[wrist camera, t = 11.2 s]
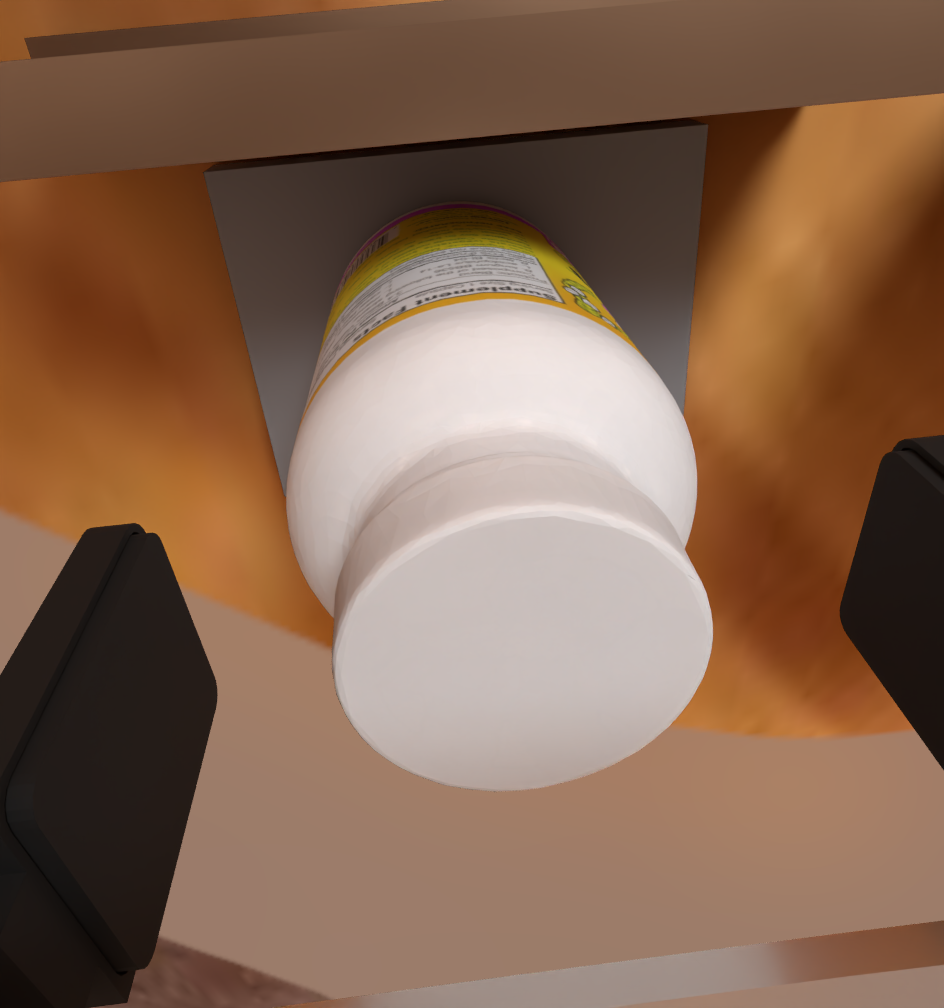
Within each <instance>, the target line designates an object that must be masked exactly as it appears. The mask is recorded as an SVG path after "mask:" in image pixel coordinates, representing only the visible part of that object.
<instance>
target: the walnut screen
mask: <svg viewBox="0 0 944 1008" xmlns="http://www.w3.org/2000/svg"><path fill="white" fill-rule="evenodd" d="M24 39H25V42H26V45H27V48H28V50H29V53H30V56H31V59H25V60H14V61H3V62H0V182H6V181H16V180H27V179H38V178H48V177H59V176H70V175H80V174H91V173H101V172H112V171H123V170H133V169H144V168H154V167H165V166H176V165H186V164H197V163H207V162H218V161H229V160H239V159H250V158H260V157H271V156H282V155H292V154H303V153H314V152H324V151H335V150H345V149H356V148H367V147H377V146H388V145H398V144H409V143H420V142H430V141H441V140H451V139H462V138H473V137H483V136H494V135H505V134H515V133H526V132H536V131H547V130H558V129H568V128H579V127H589V126H600V125H611V124H621V123H632V122H642V121H653V120H664V119H674V118H685V117H696V116H706V115H717V114H727V113H738V112H749V111H759V110H770V109H780V108H791V107H802V106H812V105H823V104H833V103H844V102H855V101H865V100H876V99H887V98H897V97H908V96H918V95H929V94H940V93H944V0H444V1H433V2H422V3H410V4H399V5H388V6H377V7H366V8H355V9H343V10H332V11H321V12H310V13H299V14H287V15H276V16H265V17H254V18H243V19H232V20H220V21H209V22H198V23H187V24H176V25H165V26H153V27H142V28H131V29H120V30H109V31H97V32H86V33H75V34H64V35H53V36H42V37H30V38H24Z"/></svg>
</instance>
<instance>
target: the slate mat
mask: <svg viewBox="0 0 944 1008" xmlns="http://www.w3.org/2000/svg"><path fill="white" fill-rule="evenodd" d="M707 134H708V124H705V123H701V122H698V121H694V120H684V121H674V122H663V123H653V124H642V125H631V126H621V127H610V128H600V129H589V130H578V131H568V132H557V133H547V134H536V135H525V136H515V137H504V138H494V139H483V140H472V141H462V142H451V143H441V144H430V145H419V146H409V147H398V148H388V149H377V150H366V151H356V152H345V153H335V154H324V155H313V156H303V157H292V158H282V159H271V160H260V161H250V162H239V163H229V164H218V165H213V166H212V167H210V168H209V169H207V170H206V171H205V172H203V173H204V177H205V181H206V185H207V189H208V193H209V197H210V201H211V205H212V209H213V213H214V217H215V221H216V225H217V229H218V233H219V237H220V241H221V245H222V249H223V253H224V257H225V261H226V265H227V269H228V273H229V277H230V281H231V285H232V289H233V293H234V297H235V301H236V305H237V309H238V313H239V317H240V321H241V325H242V329H243V333H244V337H245V341H246V345H247V349H248V353H249V357H250V360H251V364H252V368H253V372H254V376H255V380H256V384H257V388H258V392H259V396H260V400H261V404H262V408H263V412H264V416H265V420H266V424H267V428H268V432H269V436H270V440H271V444H272V448H273V452H274V456H275V460H276V464H277V468H278V472H279V476H280V480H281V484H282V488H283V492H284V496H285V497H286V490H287V477H288V471H289V466H290V460H291V456H292V452H293V449H294V445H295V441H296V437H297V433H298V430H299V426H300V422H301V419H302V416H303V412H304V409H305V406H306V402H307V399H308V395H309V391H310V387H311V383H312V380H313V375H314V372H315V369H316V365H317V361H318V357H319V353H320V349H321V345H322V341H323V336H324V333H325V330H326V326H327V322H328V318H329V314H330V311H331V307H332V304H333V300H334V297H335V294H336V291H337V288H338V286H339V284H340V282H341V279H342V277H343V275H344V272H345V270H346V269H347V267H348V265H349V263H350V262H351V260H352V259H353V257H354V256H355V255H356V253H357V252H358V251H359V250H360V248H361V247H362V246H363V245H364V244H365V242H366V241H367V240H368V239H369V238H370V237H372V236H373V235H374V234H375V233H376V232H377V231H378V230H380V229H381V228H382V227H383V226H385V225H386V224H388V223H389V222H391V221H393V220H394V219H396V218H397V217H399V216H402V215H404V214H406V213H408V212H410V211H413V210H415V209H418V208H421V207H425V206H429V205H433V204H439V203H444V202H454V201H467V202H477V203H484V204H489V205H493V206H496V207H500V208H503V209H505V210H508V211H510V212H512V213H515V214H517V215H519V216H521V217H522V218H524V219H526V220H527V221H529V222H530V223H532V224H533V225H535V226H536V227H538V228H539V229H540V230H541V231H543V232H544V233H545V234H546V235H547V236H548V237H549V238H550V239H551V240H552V241H553V242H554V243H555V244H556V245H557V246H558V247H559V248H560V249H561V251H562V252H563V253H564V254H565V256H566V257H567V258H568V259H569V261H570V262H571V263H572V264H573V266H574V267H575V269H576V270H577V271H578V272H579V274H580V275H581V276H582V277H583V279H584V280H585V281H586V283H587V284H588V285H589V287H590V288H591V289H592V290H593V292H594V293H595V294H596V295H597V297H598V298H599V299H600V300H601V302H602V304H603V305H604V306H605V308H606V309H607V310H608V311H609V313H610V314H611V315H612V316H613V318H614V319H615V320H616V322H617V323H618V324H619V326H620V327H621V328H622V330H623V331H624V332H625V333H626V335H627V336H628V337H629V338H630V340H631V341H632V342H633V344H634V345H635V346H636V347H637V349H638V350H639V351H640V353H641V354H642V355H643V356H644V358H645V359H646V360H647V361H648V363H649V364H650V365H651V366H652V368H653V369H654V370H655V371H656V373H657V374H658V375H659V376H660V378H661V380H662V381H663V383H664V384H665V386H666V387H667V389H668V390H669V392H670V393H671V395H672V396H673V398H674V399H675V401H676V403H677V405H678V407H679V409H680V411H681V413H682V415H683V413H684V402H685V390H686V379H687V367H688V355H689V344H690V332H691V320H692V309H693V297H694V285H695V274H696V262H697V251H698V239H699V227H700V216H701V204H702V192H703V181H704V169H705V157H706V146H707Z"/></svg>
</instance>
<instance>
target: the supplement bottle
mask: <svg viewBox="0 0 944 1008" xmlns="http://www.w3.org/2000/svg"><path fill="white" fill-rule="evenodd" d="M696 500H697V468H696V459H695V453H694V449H693V444H692V440H691V437H690V433H689V431H688V428H687V425H686V422H685V420H684V417H683V415H682V413H681V411H680V409H679V407H678V405H677V403H676V401H675V399H674V398H673V396H672V395H671V393H670V392H669V390H668V389H667V387H666V386H665V384H664V383H663V381H662V380H661V378H660V376H659V375H658V374H657V373H656V371H655V370H654V369H653V368H652V366H651V365H650V364H649V363H648V361H647V360H646V359H645V358H644V356H643V355H642V354H641V353H640V351H639V350H638V349H637V347H636V346H635V345H634V344H633V342H632V341H631V340H630V338H629V337H628V336H627V335H626V333H625V332H624V331H623V330H622V328H621V327H620V326H619V324H618V323H617V322H616V320H615V319H614V318H613V316H612V315H611V314H610V313H609V311H608V310H607V309H606V308H605V306H604V305H603V304H602V302H601V300H600V299H599V298H598V297H597V295H596V294H595V293H594V292H593V290H592V289H591V288H590V287H589V285H588V284H587V283H586V281H585V280H584V279H583V277H582V276H581V275H580V274H579V272H578V271H577V270H576V269H575V267H574V266H573V264H572V263H571V262H570V261H569V259H568V258H567V257H566V256H565V254H564V253H563V252H562V251H561V249H560V248H559V247H558V246H557V245H556V244H555V243H554V242H553V241H552V240H551V239H550V238H549V237H548V236H547V235H546V234H545V233H544V232H543V231H541V230H540V229H539V228H538V227H536V226H535V225H533V224H532V223H530V222H529V221H527V220H526V219H524V218H522V217H521V216H519V215H517V214H515V213H512V212H510V211H508V210H505V209H503V208H500V207H496V206H493V205H489V204H484V203H477V202H467V201H454V202H444V203H439V204H433V205H429V206H425V207H421V208H418V209H415V210H413V211H410V212H408V213H406V214H404V215H402V216H399V217H397V218H396V219H394V220H393V221H391V222H389V223H388V224H386V225H385V226H383V227H382V228H381V229H380V230H378V231H377V232H376V233H375V234H374V235H373V236H372V237H370V238H369V239H368V240H367V241H366V242H365V244H364V245H363V246H362V247H361V248H360V250H359V251H358V252H357V253H356V255H355V256H354V257H353V259H352V260H351V262H350V263H349V265H348V267H347V269H346V270H345V272H344V275H343V277H342V279H341V282H340V284H339V286H338V288H337V291H336V294H335V297H334V300H333V304H332V307H331V311H330V314H329V318H328V322H327V326H326V330H325V333H324V336H323V341H322V345H321V349H320V353H319V357H318V361H317V365H316V369H315V372H314V375H313V380H312V383H311V387H310V391H309V395H308V399H307V402H306V406H305V409H304V412H303V416H302V419H301V422H300V426H299V430H298V433H297V437H296V441H295V445H294V449H293V452H292V456H291V460H290V466H289V471H288V477H287V490H286V511H287V519H288V528H289V534H290V539H291V543H292V546H293V550H294V553H295V556H296V559H297V561H298V564H299V566H300V569H301V571H302V573H303V575H304V577H305V579H306V581H307V583H308V585H309V587H310V588H311V590H312V591H313V592H314V594H315V595H316V597H317V598H318V599H319V601H320V602H321V604H322V605H323V606H324V608H325V609H326V610H327V611H328V613H329V614H330V615H331V616H332V617H333V618H334V630H333V644H332V673H333V678H334V684H335V689H336V694H337V697H338V699H339V701H340V704H341V706H342V708H343V710H344V713H345V715H346V717H347V718H348V720H349V721H350V723H351V724H352V726H353V727H354V728H355V730H356V731H357V732H358V734H359V735H360V736H361V738H362V739H363V740H364V741H365V742H367V743H368V744H369V745H370V746H371V747H372V748H373V749H374V750H375V751H376V752H377V753H379V754H380V755H382V756H383V757H385V758H386V759H387V760H389V761H390V762H392V763H393V764H395V765H397V766H399V767H400V768H402V769H404V770H406V771H409V772H411V773H412V774H414V775H417V776H420V777H423V778H425V779H428V780H431V781H434V782H437V783H439V784H443V785H447V786H452V787H458V788H465V789H471V790H483V791H494V792H495V791H520V790H529V789H535V788H543V787H547V786H552V785H556V784H560V783H565V782H569V781H572V780H575V779H578V778H581V777H584V776H587V775H590V774H592V773H595V772H597V771H600V770H602V769H605V768H607V767H610V766H612V765H614V764H616V763H618V762H619V761H621V760H623V759H625V758H627V757H629V756H630V755H632V754H634V753H636V752H637V751H639V750H640V749H642V748H643V747H644V746H646V745H647V744H648V743H650V742H651V741H652V740H654V739H655V738H656V737H657V736H658V735H660V734H661V733H662V732H663V731H664V730H665V729H667V728H668V727H669V726H670V725H671V723H672V722H673V721H674V720H675V719H676V718H677V717H678V716H679V715H680V713H681V712H682V711H683V710H684V709H685V707H686V706H687V705H688V703H689V702H690V700H691V698H692V697H693V695H694V694H695V692H696V690H697V688H698V686H699V685H700V683H701V681H702V679H703V676H704V674H705V671H706V669H707V665H708V662H709V658H710V655H711V649H712V642H713V622H712V614H711V609H710V605H709V601H708V597H707V593H706V591H705V588H704V586H703V583H702V581H701V580H700V578H699V576H698V574H697V572H696V570H695V569H694V567H693V565H692V563H691V561H690V559H689V557H688V555H687V553H686V551H685V547H686V544H687V541H688V538H689V535H690V532H691V528H692V523H693V519H694V514H695V508H696Z"/></svg>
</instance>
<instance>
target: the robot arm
mask: <svg viewBox="0 0 944 1008" xmlns="http://www.w3.org/2000/svg"><path fill="white" fill-rule="evenodd" d="M840 618H841V623H842V626H843V628H844V630H845V632H846V634H847V635H848V637H849V638H850V640H851V641H852V642H853V644H854V645H855V647H856V648H857V649H858V651H859V652H860V654H861V655H862V656H863V658H864V659H865V661H866V662H867V663H868V665H869V666H870V668H871V669H872V670H873V672H874V673H875V675H876V676H877V677H878V679H879V680H880V682H881V683H882V684H883V686H884V687H885V689H886V690H887V691H888V693H889V694H890V696H891V697H892V698H893V700H894V701H895V703H896V704H897V705H898V707H899V708H900V710H901V711H902V712H903V714H904V715H905V717H906V718H907V719H908V721H909V722H910V724H911V725H912V726H913V728H914V729H915V731H916V732H917V733H918V735H919V736H920V738H921V739H922V740H923V742H924V743H925V745H926V746H927V747H928V749H929V750H930V751H931V753H932V754H933V756H934V757H935V759H936V760H937V761H938V762H939V764H940V766H941V767H942V768H943V770H944V435H940V436H930V437H921V438H912V439H904V440H902V441H900V442H898V444H897V445H896V446H895V447H894V449H893V451H892V452H889V453H887V454H885V456H884V457H883V458H882V460H881V463H880V466H879V469H878V473H877V476H876V480H875V483H874V487H873V491H872V494H871V498H870V501H869V505H868V508H867V512H866V516H865V519H864V523H863V526H862V530H861V533H860V537H859V541H858V544H857V548H856V551H855V555H854V558H853V562H852V566H851V569H850V573H849V576H848V580H847V583H846V587H845V591H844V594H843V598H842V601H841V605H840ZM216 704H217V685H216V680H215V677H214V674H213V671H212V669H211V666H210V664H209V661H208V659H207V656H206V654H205V651H204V649H203V646H202V644H201V641H200V638H199V636H198V633H197V631H196V628H195V626H194V623H193V620H192V618H191V615H190V613H189V610H188V608H187V605H186V603H185V600H184V597H183V595H182V592H181V590H180V587H179V585H178V582H177V580H176V577H175V575H174V572H173V569H172V567H171V564H170V562H169V559H168V557H167V554H166V552H165V549H164V546H163V544H162V542H161V540H160V538H159V536H158V535H157V534H155V533H145V531H144V529H143V528H142V527H141V526H140V525H139V524H136V523H132V524H122V525H113V526H104V527H95V528H90V529H87V530H86V531H85V532H84V534H83V535H82V537H81V538H80V540H79V542H78V543H77V545H76V547H75V549H74V550H73V552H72V554H71V555H70V557H69V559H68V561H67V562H66V564H65V566H64V567H63V569H62V571H61V573H60V574H59V576H58V578H57V579H56V581H55V583H54V584H53V586H52V588H51V590H50V591H49V593H48V595H47V596H46V598H45V600H44V601H43V604H42V605H41V607H40V608H39V610H38V612H37V613H36V615H35V617H34V619H33V620H32V622H31V624H30V626H29V627H28V629H27V631H26V632H25V634H24V636H23V637H22V639H21V641H20V642H19V644H18V646H17V648H16V649H15V651H14V653H13V654H12V656H11V658H10V660H9V661H8V663H7V665H6V666H5V668H4V670H3V672H2V673H1V675H0V1008H90V1007H98V1006H105V1005H113V1004H121V1003H127V1001H128V998H129V994H130V990H131V986H132V983H133V979H134V975H135V971H136V970H139V969H145V968H146V967H147V966H148V964H149V963H150V961H151V959H152V956H153V953H154V950H155V947H156V943H157V939H158V935H159V931H160V927H161V923H162V919H163V915H164V911H165V907H166V903H167V899H168V895H169V891H170V887H171V883H172V879H173V875H174V871H175V868H176V863H177V860H178V856H179V852H180V848H181V844H182V840H183V836H184V832H185V828H186V824H187V820H188V816H189V812H190V808H191V804H192V800H193V797H194V792H195V789H196V784H197V780H198V777H199V773H200V769H201V765H202V761H203V757H204V753H205V749H206V745H207V741H208V737H209V733H210V729H211V726H212V722H213V717H214V714H215V710H216ZM275 1008H944V921H937V922H929V923H920V924H912V925H904V926H895V927H887V928H879V929H871V930H863V931H855V932H847V933H839V934H832V935H824V936H816V937H808V938H801V939H792V940H784V941H777V942H769V943H762V944H753V945H746V946H738V947H730V948H722V949H715V950H706V951H699V952H692V953H683V954H675V955H667V956H660V957H652V958H644V959H637V960H629V961H621V962H614V963H606V964H598V965H591V966H583V967H575V968H567V969H561V970H560V969H559V970H552V971H544V972H536V973H529V974H521V975H515V976H514V975H513V976H507V977H499V978H491V979H485V980H477V981H469V982H461V983H455V984H446V985H439V986H431V987H424V988H416V989H410V990H402V991H394V992H387V993H379V994H372V995H364V996H357V997H350V998H342V999H334V1000H327V1001H319V1002H312V1003H304V1004H297V1005H290V1006H282V1007H275Z"/></svg>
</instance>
